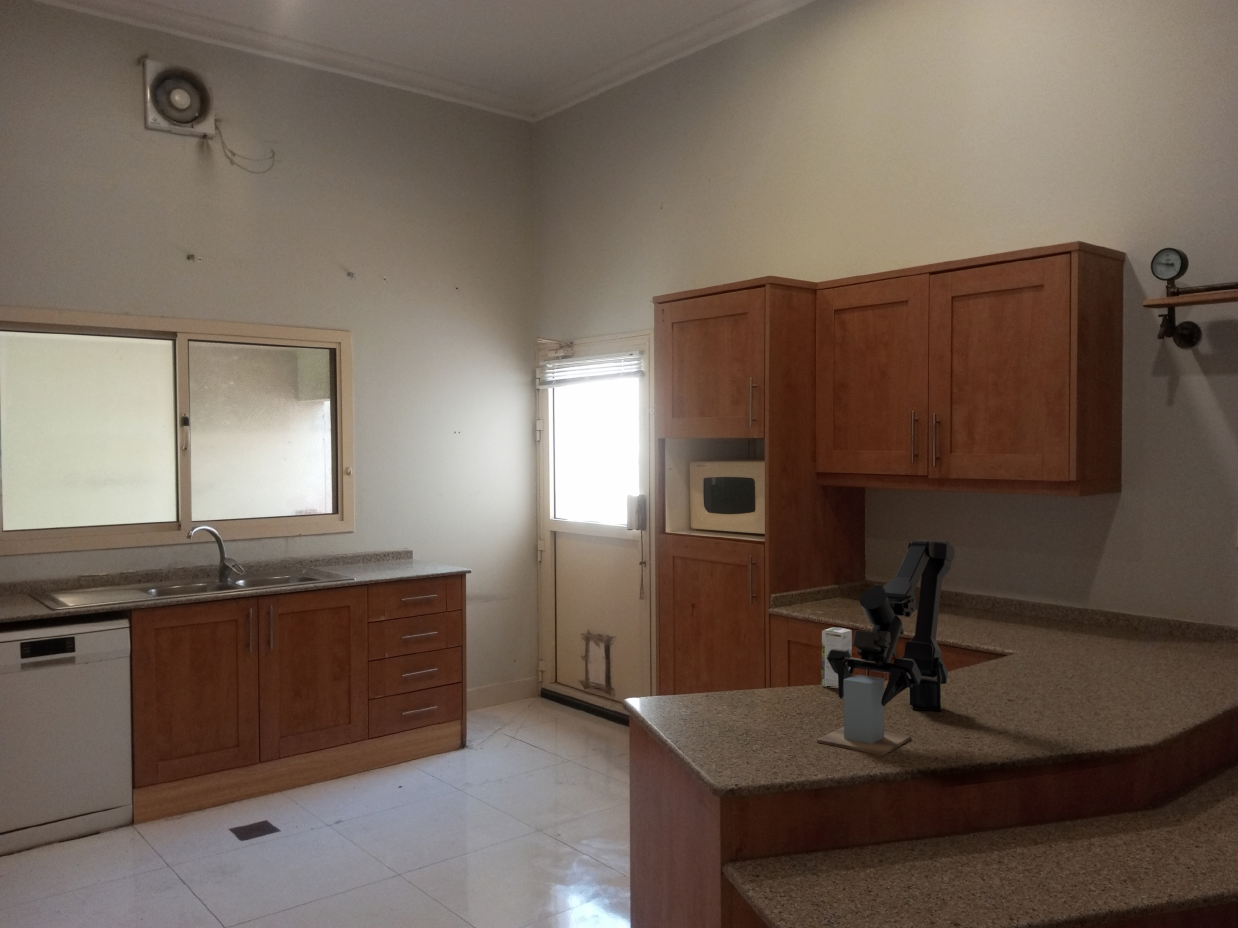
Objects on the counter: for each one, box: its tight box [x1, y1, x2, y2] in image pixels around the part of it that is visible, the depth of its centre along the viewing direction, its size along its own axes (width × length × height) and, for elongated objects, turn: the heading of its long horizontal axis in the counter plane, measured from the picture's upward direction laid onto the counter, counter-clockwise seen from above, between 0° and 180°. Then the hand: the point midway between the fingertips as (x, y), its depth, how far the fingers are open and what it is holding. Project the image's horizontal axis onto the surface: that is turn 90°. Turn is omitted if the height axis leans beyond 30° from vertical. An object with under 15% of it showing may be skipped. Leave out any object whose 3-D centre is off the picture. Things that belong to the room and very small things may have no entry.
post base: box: [816, 726, 912, 756], centre depth 189 cm, size 14×14×5 cm
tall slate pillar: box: [843, 674, 885, 744], centre depth 189 cm, size 6×6×12 cm
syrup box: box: [820, 627, 853, 689], centre depth 237 cm, size 6×6×14 cm
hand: (860, 700), depth 188 cm, fingers open, 9 cm apart
